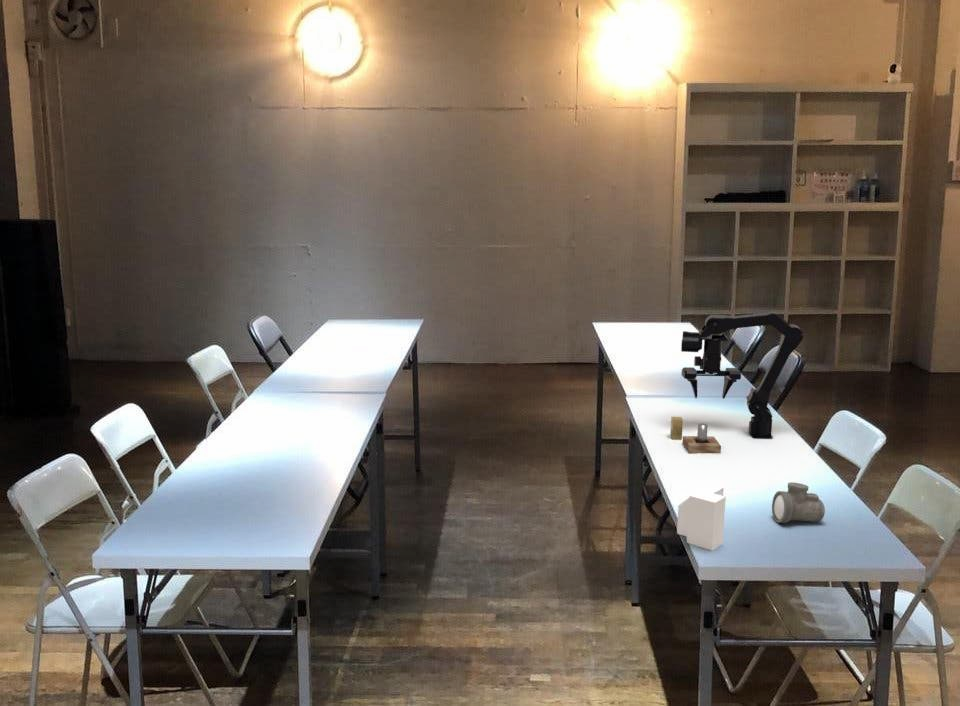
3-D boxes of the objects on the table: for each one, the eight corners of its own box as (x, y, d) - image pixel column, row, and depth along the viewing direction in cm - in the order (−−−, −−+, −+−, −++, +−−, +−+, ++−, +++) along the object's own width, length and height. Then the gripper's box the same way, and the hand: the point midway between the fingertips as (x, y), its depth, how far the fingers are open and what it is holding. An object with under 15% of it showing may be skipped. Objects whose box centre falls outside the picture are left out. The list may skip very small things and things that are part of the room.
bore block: (713, 444, 301) (713, 436, 301) (720, 453, 292) (721, 445, 291) (682, 443, 302) (682, 436, 301) (688, 453, 292) (689, 445, 291)
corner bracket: (712, 550, 220) (715, 502, 217) (670, 537, 227) (672, 491, 225) (732, 537, 227) (736, 490, 225) (691, 525, 235) (694, 480, 232)
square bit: (679, 437, 309) (680, 416, 307) (681, 439, 306) (682, 419, 304) (670, 436, 309) (671, 416, 308) (672, 439, 306) (673, 419, 304)
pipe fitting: (779, 526, 233) (786, 487, 232) (768, 517, 241) (774, 478, 240) (825, 531, 234) (832, 492, 233) (812, 521, 242) (819, 483, 241)
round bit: (705, 447, 298) (706, 423, 296) (707, 450, 295) (708, 426, 293) (695, 447, 298) (697, 423, 296) (697, 450, 295) (699, 426, 293)
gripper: (734, 348, 316) (731, 392, 319) (679, 347, 316) (677, 392, 320) (742, 355, 305) (739, 401, 308) (686, 354, 305) (683, 400, 309)
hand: (709, 398), depth 312 cm, fingers open, 9 cm apart
